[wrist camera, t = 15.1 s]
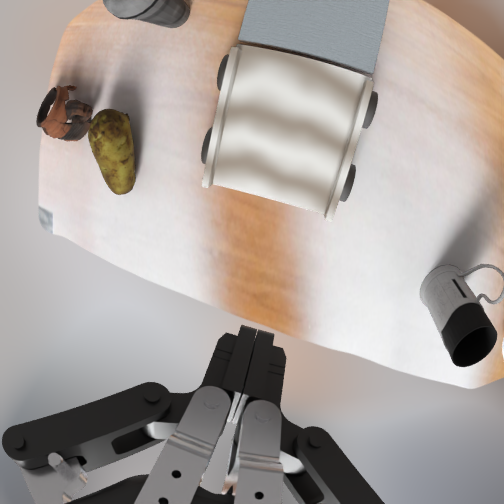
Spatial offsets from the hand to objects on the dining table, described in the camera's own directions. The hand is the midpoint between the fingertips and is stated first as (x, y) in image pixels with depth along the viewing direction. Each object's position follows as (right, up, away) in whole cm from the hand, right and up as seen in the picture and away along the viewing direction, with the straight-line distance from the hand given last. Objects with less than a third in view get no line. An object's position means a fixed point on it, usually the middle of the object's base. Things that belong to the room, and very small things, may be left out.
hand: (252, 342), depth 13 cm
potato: (-19, +20, +29) cm, 40 cm away
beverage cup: (-11, +38, +19) cm, 43 cm away
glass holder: (+33, 0, +29) cm, 44 cm away
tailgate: (+6, +26, +15) cm, 31 cm away
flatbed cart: (+5, +20, +24) cm, 32 cm away
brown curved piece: (-29, +27, +27) cm, 48 cm away
